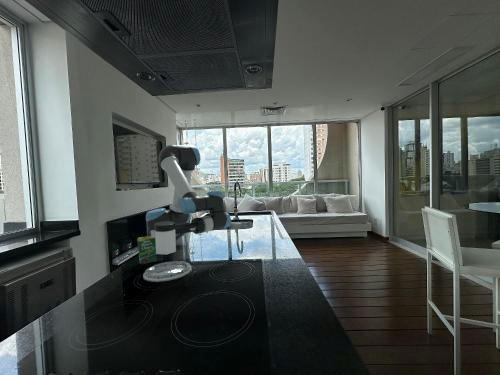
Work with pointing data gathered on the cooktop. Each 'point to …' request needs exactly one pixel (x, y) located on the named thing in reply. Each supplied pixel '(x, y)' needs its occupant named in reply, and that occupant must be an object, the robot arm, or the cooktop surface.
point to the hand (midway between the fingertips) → (152, 234)
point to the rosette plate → (167, 271)
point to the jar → (165, 237)
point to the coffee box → (146, 249)
